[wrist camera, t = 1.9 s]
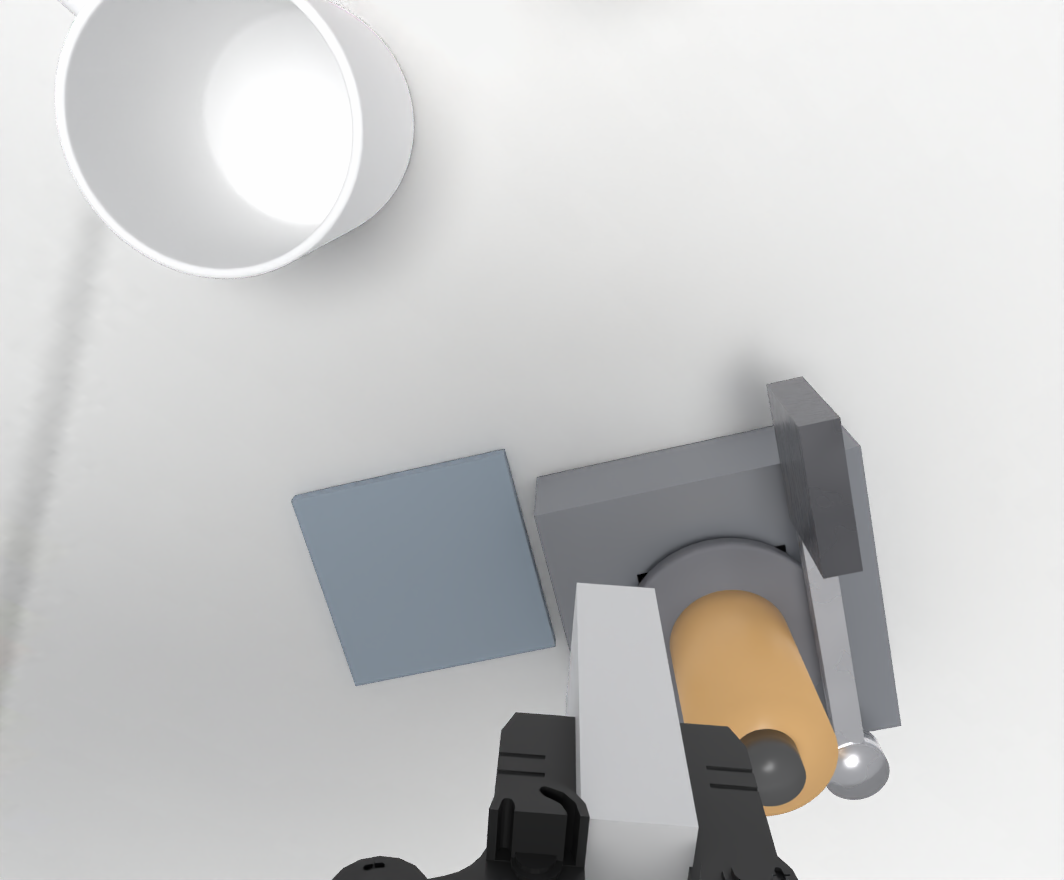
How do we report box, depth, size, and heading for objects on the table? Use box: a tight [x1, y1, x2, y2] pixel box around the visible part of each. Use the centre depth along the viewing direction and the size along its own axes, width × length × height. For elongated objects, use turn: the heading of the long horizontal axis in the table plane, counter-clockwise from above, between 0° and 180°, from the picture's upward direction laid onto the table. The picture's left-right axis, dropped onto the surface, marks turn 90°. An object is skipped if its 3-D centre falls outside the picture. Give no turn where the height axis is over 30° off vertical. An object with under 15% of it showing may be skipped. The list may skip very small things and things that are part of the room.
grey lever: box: [767, 377, 889, 800], centre depth 32 cm, size 2×16×5 cm, turn 14°
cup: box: [54, 0, 414, 279], centre depth 30 cm, size 8×12×10 cm
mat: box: [291, 449, 556, 686], centre depth 40 cm, size 9×9×1 cm
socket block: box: [534, 425, 901, 732], centre depth 38 cm, size 12×12×5 cm
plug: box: [638, 538, 838, 816], centre depth 34 cm, size 8×8×13 cm
